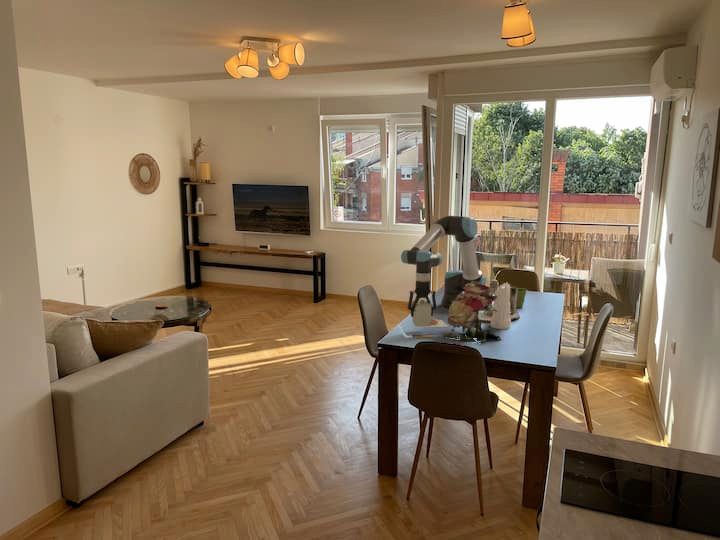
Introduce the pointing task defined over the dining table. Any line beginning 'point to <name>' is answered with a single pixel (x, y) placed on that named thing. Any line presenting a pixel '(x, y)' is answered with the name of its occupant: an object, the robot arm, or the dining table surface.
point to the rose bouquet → (470, 312)
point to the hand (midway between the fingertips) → (421, 322)
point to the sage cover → (422, 313)
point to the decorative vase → (502, 308)
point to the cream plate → (441, 324)
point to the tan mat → (423, 336)
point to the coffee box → (513, 298)
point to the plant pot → (520, 297)
